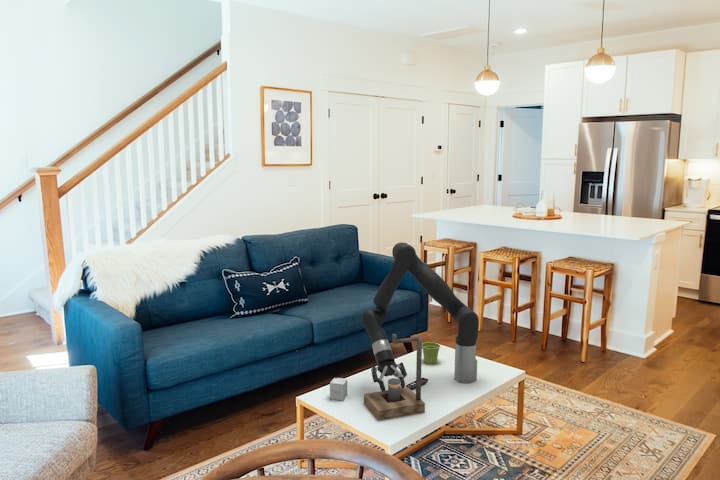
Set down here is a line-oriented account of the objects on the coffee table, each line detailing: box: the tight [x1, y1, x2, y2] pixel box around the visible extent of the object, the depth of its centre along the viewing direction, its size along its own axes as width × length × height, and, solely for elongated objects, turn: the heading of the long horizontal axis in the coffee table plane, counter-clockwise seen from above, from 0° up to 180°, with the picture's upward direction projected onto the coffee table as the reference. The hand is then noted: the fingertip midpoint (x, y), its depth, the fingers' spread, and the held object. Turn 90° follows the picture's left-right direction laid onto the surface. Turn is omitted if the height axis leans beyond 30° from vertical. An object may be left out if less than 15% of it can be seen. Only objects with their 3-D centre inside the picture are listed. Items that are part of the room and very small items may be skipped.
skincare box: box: [329, 377, 348, 401], centre depth 232 cm, size 6×6×7 cm
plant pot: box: [422, 341, 441, 365], centre depth 272 cm, size 9×9×9 cm
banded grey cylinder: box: [387, 377, 401, 403], centre depth 224 cm, size 5×5×11 cm
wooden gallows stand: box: [363, 333, 426, 422], centre depth 221 cm, size 20×16×32 cm
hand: (393, 389), depth 223 cm, fingers open, 8 cm apart
